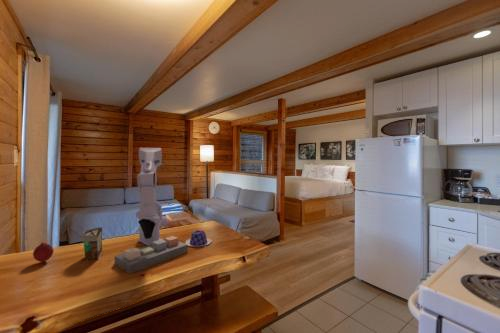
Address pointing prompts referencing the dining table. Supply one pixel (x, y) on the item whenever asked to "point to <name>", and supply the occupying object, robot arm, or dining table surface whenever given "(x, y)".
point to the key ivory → (132, 253)
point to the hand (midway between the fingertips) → (148, 238)
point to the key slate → (159, 245)
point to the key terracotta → (171, 241)
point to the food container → (92, 243)
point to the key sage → (146, 251)
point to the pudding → (198, 239)
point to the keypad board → (150, 257)
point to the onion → (43, 252)
